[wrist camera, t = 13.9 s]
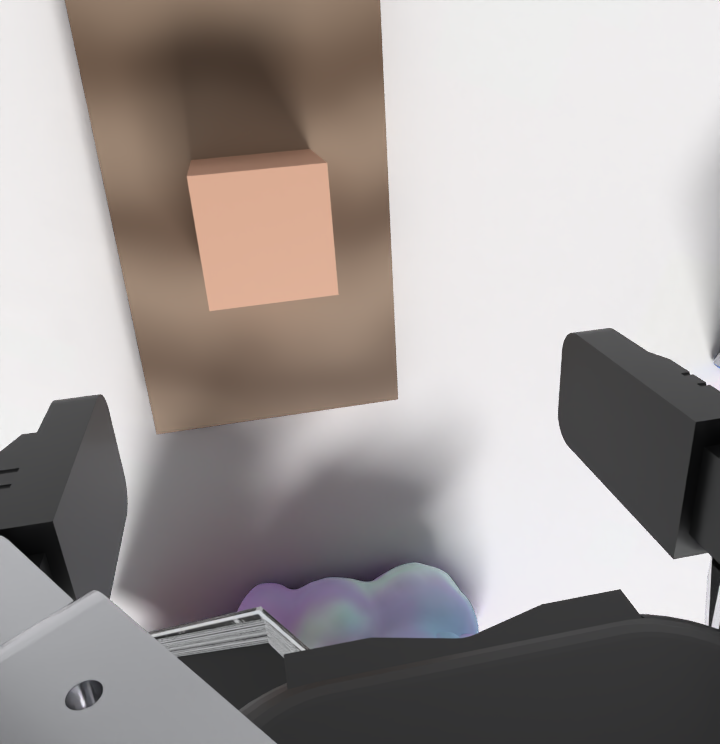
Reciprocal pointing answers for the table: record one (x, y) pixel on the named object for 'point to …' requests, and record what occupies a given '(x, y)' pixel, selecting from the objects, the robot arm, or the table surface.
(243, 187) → the terracotta cube
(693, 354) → the table surface
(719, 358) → the ink cartridge box
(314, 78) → the walnut board
